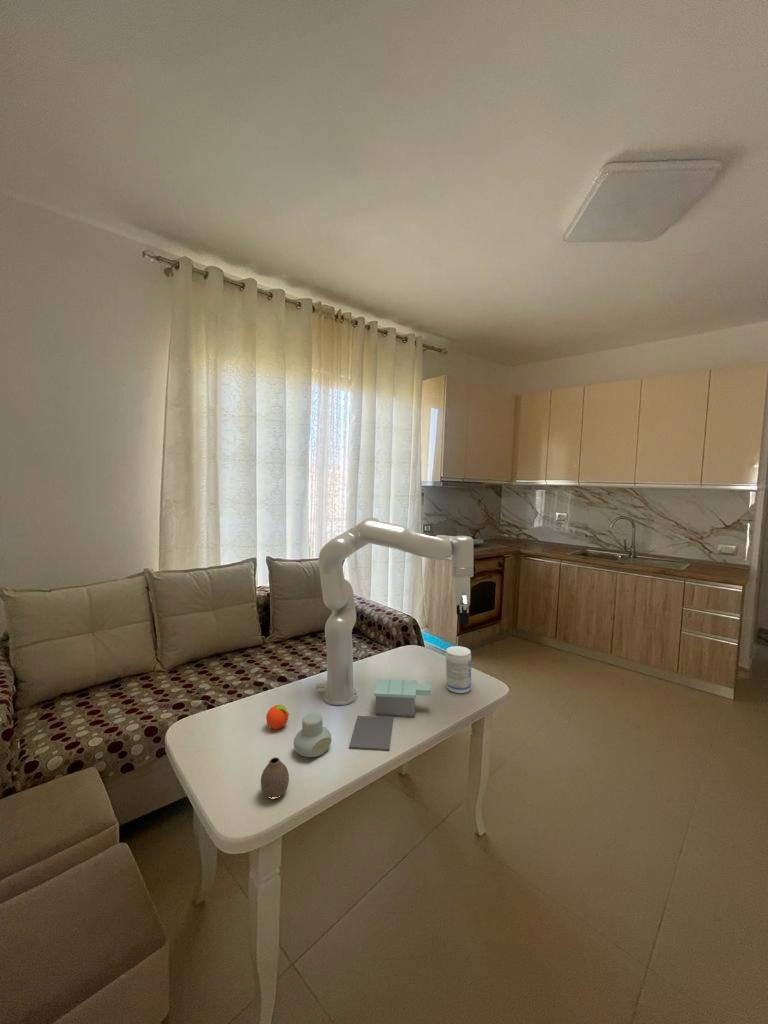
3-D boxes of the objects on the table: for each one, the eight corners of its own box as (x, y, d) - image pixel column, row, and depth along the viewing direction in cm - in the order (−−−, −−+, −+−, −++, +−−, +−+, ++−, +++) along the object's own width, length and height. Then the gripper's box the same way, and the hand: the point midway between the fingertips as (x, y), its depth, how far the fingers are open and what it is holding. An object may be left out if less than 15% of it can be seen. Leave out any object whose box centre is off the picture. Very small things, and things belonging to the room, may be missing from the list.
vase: (255, 799, 98) (254, 766, 98) (272, 780, 105) (271, 748, 104) (278, 807, 96) (277, 772, 95) (294, 787, 102) (293, 754, 102)
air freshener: (305, 766, 110) (304, 731, 109) (289, 752, 116) (288, 719, 115) (336, 747, 118) (335, 715, 117) (319, 735, 124) (318, 704, 123)
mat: (348, 748, 117) (348, 746, 117) (357, 717, 133) (357, 715, 133) (389, 750, 116) (389, 748, 116) (393, 719, 132) (393, 717, 132)
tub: (375, 715, 134) (375, 695, 134) (378, 701, 143) (378, 682, 142) (414, 717, 133) (414, 697, 132) (414, 702, 142) (414, 683, 141)
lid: (374, 698, 133) (374, 692, 133) (377, 683, 143) (377, 678, 143) (430, 700, 131) (430, 694, 131) (430, 685, 141) (430, 680, 141)
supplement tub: (474, 693, 148) (475, 655, 147) (450, 695, 147) (450, 656, 146) (466, 680, 157) (466, 644, 156) (442, 682, 156) (442, 646, 155)
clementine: (295, 723, 130) (295, 702, 130) (284, 735, 124) (284, 713, 123) (273, 719, 132) (273, 698, 132) (262, 731, 126) (261, 710, 125)
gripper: (449, 566, 148) (449, 611, 149) (453, 576, 130) (453, 627, 131) (470, 566, 147) (470, 611, 148) (476, 576, 130) (476, 628, 131)
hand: (462, 619), depth 140 cm, fingers open, 9 cm apart
